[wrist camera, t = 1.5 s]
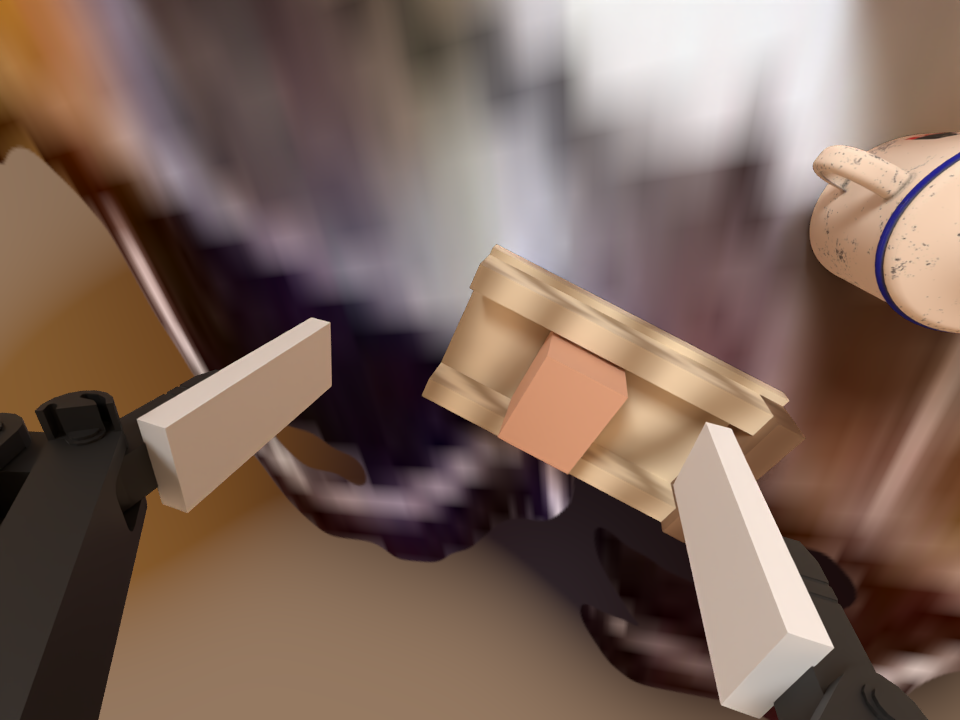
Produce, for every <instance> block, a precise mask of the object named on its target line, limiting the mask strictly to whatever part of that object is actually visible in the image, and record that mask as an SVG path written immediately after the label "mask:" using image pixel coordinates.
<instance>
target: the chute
mask: <svg viewBox="0 0 960 720" xmlns="http://www.w3.org/2000/svg"><path fill="white" fill-rule="evenodd" d="M470 289H472V290H474V291H473V293H472V295H471V297H470V300H469V302H468V304H467V306H466V309H465V311H464V313H463V315H462V317H461V320H460V322H459V324H458V326H457V329H456V331H455V333H454V335H453V337H452V340H451V342H450V344H449V346H448V349H447V351H446V353H445V355H444V357H443V360H442V362H441V363H440V365H439V366H438V367H437V369H436V370H435V371H434V373H433V374H432V376H431V377H430V378H429V380H428V383H427V385H426V387H425V389H424V392H423V394H422V396H423V397H425V398H427V399H429V400H431V401H432V402H434V403H436V404H438V405H440V406H442V407H444V408H446V409H448V410H450V411H451V412H453V413H455V414H457V415H459V416H461V417H463V418H465V419H467V420H468V421H470V422H472V423H474V424H476V425H478V426H480V427H482V428H484V429H486V430H487V431H489V432H491V433H493V434H495V435H497V436H498V434H499V432H500V429H501V426H502V423H503V420H504V418H505V415H506V412H507V409H508V406H509V404H510V401H511V398H512V396H513V394H514V392H515V391H516V389H517V387H518V386H519V384H520V382H521V381H522V379H523V377H524V376H525V374H526V372H527V371H528V369H529V367H530V365H531V364H532V362H533V360H534V359H535V357H536V355H537V354H538V352H539V350H540V349H541V347H542V345H543V344H544V342H545V340H546V338H547V337H548V335H549V333H550V332H551V331H553V332H555V333H557V334H559V335H560V336H562V337H564V338H566V339H568V340H570V341H572V342H574V343H576V344H578V345H580V346H582V347H583V348H585V349H587V350H589V351H591V352H593V353H595V354H597V355H599V356H601V357H603V358H605V359H607V360H608V361H610V362H612V363H614V364H616V365H618V366H620V367H622V368H624V369H625V376H626V385H627V394H628V398H627V400H626V401H625V402H624V403H623V405H622V406H621V407H620V409H619V410H618V411H617V412H616V414H615V415H614V416H613V417H612V419H611V420H610V421H609V423H608V424H607V425H606V426H605V428H604V429H603V430H602V431H601V433H600V434H599V435H598V436H597V438H596V439H595V440H594V442H593V443H592V444H591V445H590V447H589V448H588V449H587V450H586V452H585V453H584V454H583V456H582V457H581V458H580V459H579V461H578V462H577V463H576V464H575V466H574V467H573V468H572V469H571V471H570V472H569V474H571V475H573V476H575V477H576V478H578V479H580V480H582V481H584V482H586V483H588V484H590V485H592V486H594V487H595V488H597V489H599V490H601V491H603V492H605V493H607V494H609V495H611V496H612V497H614V498H616V499H618V500H620V501H622V502H624V503H626V504H628V505H629V506H631V507H633V508H635V509H637V510H639V511H641V512H643V513H645V514H647V515H648V516H650V517H652V518H654V519H656V520H658V521H660V522H661V525H662V531H663V532H664V533H667V534H668V535H670V536H672V537H674V538H676V539H678V540H680V541H681V542H683V543H685V537H684V533H683V528H682V524H681V519H680V514H679V510H678V505H677V501H676V496H675V491H674V487H673V484H674V482H675V480H676V478H677V476H678V475H679V473H680V471H681V469H682V467H683V465H684V463H685V461H686V459H687V457H688V455H689V454H690V452H691V450H692V448H693V446H694V444H695V442H696V440H697V438H698V436H699V434H700V432H701V431H702V429H703V427H704V425H705V423H706V422H708V423H712V424H715V425H719V426H723V427H727V428H731V429H732V431H733V433H734V435H735V438H736V440H737V442H738V444H739V446H740V448H741V450H742V453H743V455H744V457H745V459H746V461H747V463H748V465H749V467H750V470H751V472H752V474H753V476H754V478H755V480H756V481H757V480H758V479H759V478H760V477H761V476H763V475H764V474H765V473H766V472H767V471H768V470H770V469H771V468H772V467H773V466H774V465H775V464H777V463H778V462H779V461H780V460H781V459H782V458H783V457H785V456H786V455H787V454H788V453H789V452H790V451H792V450H793V449H794V448H795V447H796V446H797V445H799V444H800V443H801V442H802V441H803V440H804V439H806V438H805V436H804V435H803V434H802V432H801V431H800V429H799V428H798V427H797V425H796V424H795V422H794V421H793V420H792V418H791V417H790V415H789V414H788V412H787V411H786V410H785V408H784V407H783V406H784V405H785V404H786V403H788V402H789V400H788V398H787V397H786V396H785V394H784V393H783V392H781V391H779V390H777V389H775V388H773V387H771V386H769V385H767V384H766V383H764V382H762V381H760V380H758V379H756V378H754V377H752V376H750V375H748V374H746V373H744V372H742V371H740V370H738V369H737V368H735V367H733V366H731V365H729V364H727V363H725V362H723V361H721V360H719V359H717V358H715V357H713V356H711V355H709V354H708V353H706V352H704V351H702V350H700V349H698V348H696V347H694V346H692V345H690V344H688V343H686V342H684V341H682V340H681V339H679V338H677V337H675V336H673V335H671V334H669V333H667V332H665V331H663V330H661V329H659V328H657V327H655V326H653V325H652V324H650V323H648V322H646V321H644V320H642V319H640V318H638V317H636V316H634V315H632V314H630V313H628V312H626V311H624V310H623V309H621V308H619V307H617V306H615V305H613V304H611V303H609V302H607V301H605V300H603V299H601V298H599V297H597V296H595V295H594V294H592V293H590V292H588V291H586V290H584V289H582V288H580V287H578V286H576V285H574V284H572V283H570V282H568V281H567V280H565V279H563V278H561V277H559V276H557V275H555V274H553V273H551V272H549V271H547V270H545V269H543V268H541V267H539V266H538V265H536V264H534V263H532V262H530V261H528V260H526V259H524V258H522V257H520V256H518V255H516V254H514V253H512V252H510V251H509V250H507V249H505V248H503V247H501V246H499V245H497V244H496V245H495V246H494V247H493V249H492V251H491V253H490V255H489V256H488V257H487V258H486V259H485V260H484V261H483V262H481V263H480V265H479V267H478V270H477V272H476V274H475V277H474V279H473V281H472V283H471V286H470Z"/></svg>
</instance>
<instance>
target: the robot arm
mask: <svg viewBox="0 0 960 720" xmlns="http://www.w3.org/2000/svg"><path fill="white" fill-rule="evenodd" d="M331 386H332V377H331V329H330V322H327V321H323V320H319V319H315V318H310V319H308V320H306V321H305V322H303V323H301V324H299V325H298V326H296V327H294V328H292V329H291V330H289V331H287V332H286V333H284V334H282V335H280V336H279V337H277V338H275V339H274V340H272V341H270V342H268V343H267V344H265V345H263V346H262V347H260V348H258V349H256V350H255V351H253V352H251V353H250V354H248V355H246V356H244V357H243V358H241V359H239V360H237V361H236V362H234V363H232V364H231V365H229V366H227V367H225V368H224V369H222V370H220V371H219V370H213V371H210V372H207V373H204V374H201V375H197V376H195V377H193V378H191V379H190V380H188V381H186V382H184V383H183V384H181V385H180V387H175V388H174V389H172V390H170V391H168V392H167V394H166V395H165V394H163V395H161V396H159V397H158V398H156V399H154V400H152V401H150V402H149V403H147V404H145V405H143V406H141V407H140V408H138V409H136V410H134V411H133V412H131V413H129V414H127V415H125V416H124V417H122V418H119V415H118V412H117V409H116V406H115V403H114V400H113V397H112V396H110V395H109V394H108V393H106V392H101V391H79V392H73V393H68V394H65V395H62V396H59V397H55V398H53V399H51V400H49V401H47V402H45V403H44V404H42V405H41V406H40V407H39V408H38V409H37V410H35V413H36V415H37V417H38V420H39V422H40V424H41V426H42V429H43V431H44V432H29V431H28V430H27V427H26V426H25V423H24V421H23V419H22V417H20V416H18V415H16V414H10V413H0V720H98V719H99V714H100V710H101V706H102V701H103V697H104V692H105V688H106V684H107V679H108V674H109V671H110V666H111V662H112V657H113V653H114V649H115V645H116V640H117V636H118V631H119V627H120V623H121V619H122V614H123V609H124V605H125V601H126V596H127V592H128V588H129V584H130V579H131V575H132V571H133V566H134V562H135V558H136V553H137V549H138V545H139V540H140V536H141V532H142V527H143V523H144V518H145V514H146V510H147V501H146V497H145V496H147V495H148V494H149V493H150V492H152V491H153V490H154V489H156V488H158V491H159V494H160V498H161V501H162V504H164V505H167V506H170V507H173V508H175V509H178V510H181V511H184V512H187V513H188V512H189V511H190V510H191V509H192V508H194V506H196V505H197V504H198V503H199V502H200V501H202V500H203V499H204V498H205V497H206V496H207V495H208V494H209V493H211V492H212V491H213V490H214V489H215V488H216V487H217V486H219V485H220V484H221V483H222V482H223V481H224V480H225V479H226V478H228V477H229V476H230V475H231V474H232V473H233V472H235V471H236V470H237V469H238V468H239V467H240V466H241V465H242V464H243V463H245V462H246V461H247V460H248V459H249V458H250V457H251V456H253V455H254V454H255V453H256V452H257V451H258V450H260V449H261V448H262V447H263V446H264V445H265V444H266V443H267V442H269V441H270V440H271V439H272V438H273V437H274V436H275V435H276V434H277V433H279V432H280V431H281V430H282V429H283V428H284V427H286V426H287V425H288V424H289V423H290V422H291V421H292V420H294V419H295V418H296V417H297V416H298V415H299V414H300V413H302V412H303V411H304V410H305V409H306V408H307V407H308V406H309V405H311V404H312V403H313V402H314V401H315V400H316V399H317V398H319V397H320V396H321V395H322V394H323V393H324V392H325V391H327V390H328V389H329V388H330V387H331ZM673 487H674V491H675V496H676V501H677V505H678V510H679V514H680V519H681V524H682V528H683V533H684V537H685V542H686V546H687V551H688V556H689V560H690V565H691V570H692V574H693V579H694V583H695V588H696V593H697V597H698V602H699V606H700V611H701V616H702V620H703V625H704V630H705V634H706V639H707V643H708V648H709V653H710V657H711V662H712V666H713V671H714V676H715V680H716V685H717V689H718V694H719V699H720V703H721V705H722V706H725V707H728V708H731V709H733V710H736V711H739V712H742V713H745V714H748V715H750V716H753V717H756V718H759V719H760V718H761V717H762V716H763V715H764V714H765V713H766V712H767V711H768V710H769V709H770V708H771V707H772V706H775V709H776V712H777V716H778V719H779V720H928V719H927V718H926V717H925V715H924V714H923V713H922V712H921V710H920V709H919V708H918V706H917V705H916V704H915V703H914V702H913V701H912V700H911V699H910V698H909V697H908V696H907V695H906V694H905V693H904V692H903V691H902V690H901V689H900V688H899V687H898V686H896V685H895V684H893V683H892V682H890V681H889V680H887V679H886V678H884V677H883V676H881V675H880V674H878V673H876V671H875V670H874V668H873V666H872V664H871V662H870V660H869V658H868V656H867V654H866V652H865V651H864V649H863V647H862V645H861V643H860V641H859V639H858V637H857V635H856V634H855V632H854V630H853V628H852V626H851V624H850V622H849V620H848V618H847V616H846V615H845V613H844V611H843V609H842V607H841V605H839V604H838V603H837V602H838V599H837V597H836V596H835V594H834V592H833V590H832V588H831V587H829V586H828V584H829V582H828V581H827V579H826V577H825V575H824V573H823V571H822V569H821V567H820V565H819V563H818V562H817V561H816V560H815V558H814V557H813V556H812V555H811V554H810V553H809V552H808V551H807V549H806V548H805V547H804V546H803V545H802V544H801V543H800V542H799V541H796V540H792V539H789V538H786V537H782V536H781V533H780V531H779V529H778V527H777V525H776V523H775V521H774V519H773V516H772V514H771V512H770V510H769V508H768V506H767V504H766V502H765V499H764V497H763V495H762V493H761V491H760V489H759V487H758V484H757V482H756V480H755V478H754V476H753V474H752V472H751V470H750V467H749V465H748V463H747V461H746V459H745V457H744V455H743V453H742V450H741V448H740V446H739V444H738V442H737V440H736V438H735V435H734V433H733V431H732V429H731V428H727V427H723V426H719V425H715V424H712V423H708V422H706V423H705V425H704V427H703V429H702V431H701V432H700V434H699V436H698V438H697V440H696V442H695V444H694V446H693V448H692V450H691V452H690V454H689V455H688V457H687V459H686V461H685V463H684V465H683V467H682V469H681V471H680V473H679V475H678V476H677V478H676V480H675V482H674V484H673Z"/></svg>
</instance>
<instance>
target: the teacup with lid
mask: <svg viewBox="0 0 960 720" xmlns="http://www.w3.org/2000/svg"><path fill="white" fill-rule="evenodd" d="M813 170H814V172H815V173H816V174H817V175H818V176H819V177H820V178H821V179H823V180H824V181H826V182H827V183H829V184H828V185H827V187H826V188H825V189H824V191H823V192H822V194H821V196H820V197H819V199H818V201H817V203H816V206H815V208H814V211H813V214H812V217H811V222H810V242H811V246H812V249H813V252H814V254H815V256H816V258H817V259H818V260H819V262H820V263H821V264H822V265H823V266H824V267H825V268H826V269H827V270H828V271H830V272H831V273H833V274H834V275H836V276H838V277H840V278H842V279H844V280H846V281H848V282H849V283H851V284H853V285H855V286H857V287H859V288H861V289H862V290H864V291H866V292H868V293H870V294H872V295H874V296H876V297H877V298H879V299H881V300H883V301H885V302H887V303H888V304H889V306H890V307H891V308H892V309H893V310H894V311H896V312H897V313H898V314H899V315H901V316H902V317H904V318H905V319H907V320H909V321H911V322H913V323H915V324H917V325H920V326H922V327H925V328H929V329H932V330H937V331H942V332H951V333H960V132H949V133H927V134H916V135H910V136H905V137H901V138H897V139H894V140H891V141H888V142H885V143H883V144H881V145H878V146H876V147H874V148H872V149H870V150H868V151H867V152H866V151H863V150H861V149H858V148H854V147H850V146H844V145H835V146H830V147H828V148H826V149H825V150H823V151H822V152H821V154H820V155H819V156H818V157H817V158H816V160H815V161H814V163H813Z"/></svg>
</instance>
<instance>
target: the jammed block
mask: <svg viewBox="0 0 960 720" xmlns="http://www.w3.org/2000/svg"><path fill="white" fill-rule="evenodd" d="M627 398H628V394H627V385H626V376H625V369H624V368H622V367H620V366H618V365H616V364H614V363H612V362H610V361H608V360H607V359H605V358H603V357H601V356H599V355H597V354H595V353H593V352H591V351H589V350H587V349H585V348H583V347H582V346H580V345H578V344H576V343H574V342H572V341H570V340H568V339H566V338H564V337H562V336H560V335H559V334H557V333H555V332H553V331H551V332H550V333H549V335H548V337H547V338H546V340H545V342H544V344H543V345H542V347H541V349H540V350H539V352H538V354H537V355H536V357H535V359H534V360H533V362H532V364H531V365H530V367H529V369H528V371H527V372H526V374H525V376H524V377H523V379H522V381H521V382H520V384H519V386H518V387H517V389H516V391H515V392H514V394H513V396H512V398H511V401H510V404H509V406H508V409H507V412H506V415H505V418H504V420H503V423H502V426H501V429H500V432H499V434H498V438H500V439H502V440H504V441H506V442H507V443H509V444H511V445H513V446H515V447H517V448H519V449H521V450H523V451H524V452H526V453H528V454H530V455H532V456H534V457H536V458H538V459H540V460H542V461H543V462H545V463H547V464H549V465H551V466H553V467H555V468H557V469H559V470H560V471H562V472H564V473H566V474H568V473H569V472H570V471H571V469H572V468H573V467H574V466H575V464H576V463H577V462H578V461H579V459H580V458H581V457H582V456H583V454H584V453H585V452H586V450H587V449H588V448H589V447H590V445H591V444H592V443H593V442H594V440H595V439H596V438H597V436H598V435H599V434H600V433H601V431H602V430H603V429H604V428H605V426H606V425H607V424H608V423H609V421H610V420H611V419H612V417H613V416H614V415H615V414H616V412H617V411H618V410H619V409H620V407H621V406H622V405H623V403H624V402H625V401H626V400H627Z"/></svg>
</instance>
